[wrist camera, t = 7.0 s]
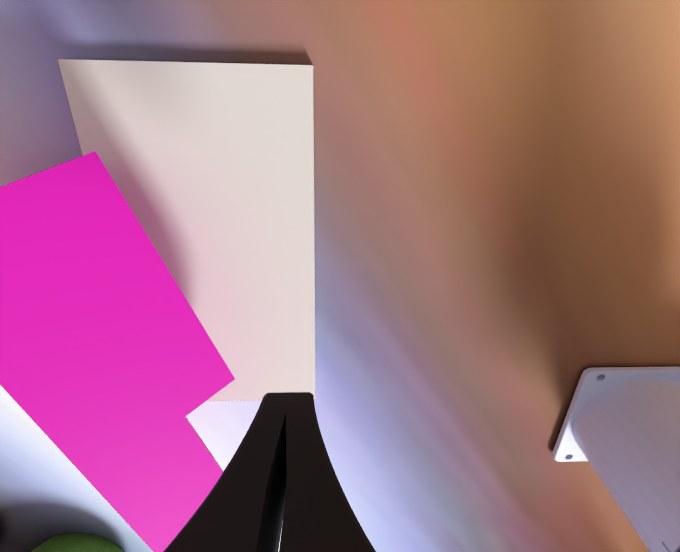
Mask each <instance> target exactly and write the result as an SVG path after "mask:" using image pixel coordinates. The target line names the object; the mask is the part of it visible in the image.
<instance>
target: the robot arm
mask: <svg viewBox="0 0 680 552" xmlns="http://www.w3.org/2000/svg"><path fill="white" fill-rule="evenodd" d="M552 456H553V457H554V459H555V460H556V461H559V462H567V461H589V463H590V464H591V465H592V467H593V468H594V470H595V471H596V473H597V474H598V476H599V477H600V479H601V480H602V482H603V483H604V485H605V486H606V488H607V489H608V491H609V492H610V494H611V495H612V497H613V498H614V499H615V501H616V502H617V504H618V505H619V507H620V508H621V510H622V511H623V513H624V514H625V516H626V517H627V519H628V520H629V522H630V523H631V525H632V526H633V528H634V529H635V531H636V532H637V533H638V535H639V536H640V538H641V539H642V541H643V542H644V544H645V545H646V547H647V548H648V550H649V551H650V552H680V367H600V368H588V369H586V370H584V371H583V373H582V375H581V377H580V380H579V383H578V385H577V388H576V391H575V393H574V396H573V399H572V401H571V404H570V407H569V409H568V412H567V415H566V417H565V420H564V423H563V425H562V428H561V431H560V434H559V436H558V439H557V442H556V444H555V447H554V450H553V452H552ZM282 521H283V524H282ZM281 528H282V533H281ZM280 535H281V542H280V550H279V552H376V551H375V550H374V548H373V546H372V545H371V543H370V541H369V540H368V538H367V536H366V535H365V533H364V531H363V529H362V527H361V526H360V524H359V522H358V520H357V518H356V516H355V514H354V512H353V511H352V509H351V507H350V505H349V503H348V501H347V499H346V496H345V494H344V492H343V490H342V488H341V486H340V483H339V481H338V479H337V476H336V474H335V472H334V469H333V467H332V464H331V462H330V459H329V456H328V453H327V451H326V448H325V445H324V442H323V439H322V436H321V433H320V429H319V425H318V421H317V417H316V413H315V407H314V395H313V394H312V393H310V392H281V393H267V394H265V395H264V397H263V399H262V402H261V404H260V407H259V409H258V411H257V413H256V416H255V418H254V420H253V422H252V424H251V426H250V428H249V430H248V431H247V433H246V435H245V437H244V439H243V440H242V442H241V444H240V446H239V447H238V449H237V451H236V453H235V454H234V456H233V458H232V459H231V461H230V463H229V464H228V466H227V467H226V469H225V470H224V472H223V473H222V475H221V477H220V478H219V480H218V481H217V483H216V484H215V486H214V487H213V489H212V490H211V491H210V493H209V494H208V496H207V497H206V498H205V500H204V501H203V503H202V504H201V505H200V507H199V508H198V509H197V511H196V512H195V513H194V515H193V516H192V517H191V518H190V520H189V521H188V522H187V523H186V525H185V526H184V527H183V528H182V530H181V531H180V532H179V533H178V535H177V536H176V537H175V538H174V539H173V541H172V542H171V543H170V544H169V545H168V547H167V548H166V549H165V550H164V551H163V552H278V548H279V541H280Z"/></svg>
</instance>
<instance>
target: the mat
mask: <svg viewBox="0 0 680 552" xmlns="http://www.w3.org/2000/svg"><path fill="white" fill-rule="evenodd" d="M58 63H59V67H60V71H61V75H62V79H63V83H64V86H65V90H66V94H67V98H68V102H69V106H70V110H71V113H72V117H73V121H74V125H75V129H76V133H77V137H78V140H79V144H80V148H81V152H82V156H83V155H86V154H89V153H91V152H94V151H96V153H97V154H98V156H99V158H100V159H101V161H102V163H103V164H104V166H105V167H106V169H107V171H108V172H109V174H110V176H111V177H112V179H113V181H114V182H115V184H116V185H117V187H118V189H119V190H120V192H121V194H122V195H123V197H124V198H125V200H126V202H127V203H128V205H129V207H130V208H131V210H132V211H133V213H134V215H135V216H136V218H137V220H138V221H139V223H140V225H141V226H142V228H143V229H144V231H145V233H146V234H147V236H148V238H149V239H150V241H151V242H152V244H153V246H154V247H155V249H156V251H157V252H158V254H159V255H160V257H161V259H162V260H163V262H164V264H165V265H166V267H167V269H168V270H169V272H170V273H171V275H172V277H173V278H174V280H175V282H176V283H177V285H178V286H179V288H180V290H181V291H182V293H183V295H184V296H185V298H186V300H187V301H188V303H189V304H190V306H191V308H192V309H193V311H194V313H195V314H196V316H197V317H198V319H199V321H200V322H201V324H202V326H203V327H204V329H205V330H206V332H207V334H208V335H209V337H210V339H211V340H212V342H213V344H214V345H215V347H216V348H217V350H218V352H219V353H220V355H221V357H222V358H223V360H224V361H225V363H226V365H227V366H228V368H229V370H230V371H231V373H232V374H233V376H234V378H235V380H234V381H232V382H231V383H229V384H228V385H227V386H225V387H224V388H223V389H221V390H220V391H219V392H217V393H216V394H215V395H213V396H212V397H211V398H209V399H208V400H207V401H260V400H262V399H263V397H264V395H265V394H267V393H281V392H310V393H312V394H313V395H314V400H315V257H314V119H313V65H283V64H242V63H201V62H160V61H118V60H77V59H58Z"/></svg>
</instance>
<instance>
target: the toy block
mask: <svg viewBox="0 0 680 552" xmlns="http://www.w3.org/2000/svg"><path fill="white" fill-rule="evenodd" d="M234 380H235V378H234V376H233V374H232V373H231V371H230V370H229V368H228V366H227V365H226V363H225V361H224V360H223V358H222V357H221V355H220V353H219V352H218V350H217V348H216V347H215V345H214V344H213V342H212V340H211V339H210V337H209V335H208V334H207V332H206V330H205V329H204V327H203V326H202V324H201V322H200V321H199V319H198V317H197V316H196V314H195V313H194V311H193V309H192V308H191V306H190V304H189V303H188V301H187V300H186V298H185V296H184V295H183V293H182V291H181V290H180V288H179V286H178V285H177V283H176V282H175V280H174V278H173V277H172V275H171V273H170V272H169V270H168V269H167V267H166V265H165V264H164V262H163V260H162V259H161V257H160V255H159V254H158V252H157V251H156V249H155V247H154V246H153V244H152V242H151V241H150V239H149V238H148V236H147V234H146V233H145V231H144V229H143V228H142V226H141V225H140V223H139V221H138V220H137V218H136V216H135V215H134V213H133V211H132V210H131V208H130V207H129V205H128V203H127V202H126V200H125V198H124V197H123V195H122V194H121V192H120V190H119V189H118V187H117V185H116V184H115V182H114V181H113V179H112V177H111V176H110V174H109V172H108V171H107V169H106V167H105V166H104V164H103V163H102V161H101V159H100V158H99V156H98V154H97V153H96V151H94V152H91V153H89V154H86V155H83V156H81V157H78V158H76V159H73V160H70V161H68V162H65V163H63V164H60V165H57V166H55V167H52V168H50V169H47V170H44V171H42V172H39V173H36V174H34V175H31V176H29V177H26V178H23V179H21V180H18V181H16V182H13V183H10V184H8V185H5V186H2V187H0V385H1V386H2V387H3V388H4V389H5V390H6V391H7V392H8V393H9V394H10V396H11V397H12V398H13V399H14V400H15V401H16V402H17V403H18V404H19V405H20V406H21V408H22V409H23V410H24V411H25V412H26V413H27V414H28V415H29V416H30V417H31V418H32V420H33V421H34V422H35V423H36V424H37V425H38V426H39V427H40V428H41V429H42V430H43V432H44V433H45V434H46V435H47V436H48V437H49V438H50V439H51V440H52V441H53V442H54V444H55V445H56V446H57V447H58V448H59V449H60V450H61V451H62V452H63V453H64V454H65V456H66V457H67V458H68V459H69V460H70V461H71V462H72V463H73V464H74V465H75V466H76V468H77V469H78V470H79V471H80V472H81V473H82V474H83V475H84V476H85V477H86V478H87V480H88V481H89V482H90V483H91V484H92V485H93V486H94V487H95V488H96V489H97V490H98V492H99V493H100V494H101V495H102V496H103V497H104V498H105V499H106V500H107V501H108V502H109V504H110V505H111V506H112V507H113V508H114V509H115V510H116V511H117V512H118V513H119V514H120V516H121V517H122V518H123V519H124V520H125V521H126V522H127V523H128V524H129V525H130V526H131V528H132V529H133V530H134V531H135V532H136V533H137V534H138V535H139V536H140V537H141V538H142V540H143V541H144V542H145V543H146V544H147V545H148V546H149V547H150V548H151V549H152V550H153V552H163V551H164V550H165V549H166V548H167V547H168V545H169V544H170V543H171V542H172V541H173V539H174V538H175V537H176V536H177V535H178V533H179V532H180V531H181V530H182V528H183V527H184V526H185V525H186V523H187V522H188V521H189V520H190V518H191V517H192V516H193V515H194V513H195V512H196V511H197V509H198V508H199V507H200V505H201V504H202V503H203V501H204V500H205V498H206V497H207V496H208V494H209V493H210V491H211V490H212V489H213V487H214V486H215V484H216V483H217V481H218V480H219V478H220V477H221V475H222V473H223V471H222V469H221V468H220V466H219V465H218V463H217V462H216V460H215V459H214V457H213V456H212V454H211V453H210V451H209V450H208V449H207V447H206V446H205V444H204V443H203V441H202V440H201V438H200V437H199V435H198V434H197V432H196V431H195V429H194V428H193V426H192V425H191V424H190V422H189V421H188V419H187V418H186V415H188V414H189V413H190V412H192V411H193V410H194V409H196V408H197V407H198V406H200V405H201V404H203V403H204V402H205V401H207V400H208V399H209V398H211V397H212V396H213V395H215V394H216V393H217V392H219V391H220V390H221V389H223V388H224V387H225V386H227V385H228V384H229V383H231V382H232V381H234Z"/></svg>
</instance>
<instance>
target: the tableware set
mask: <svg viewBox="0 0 680 552" xmlns="http://www.w3.org/2000/svg"><path fill="white" fill-rule="evenodd" d="M31 552H124V551H123V549H122V548H120V547H119V546H118V545H117V544H115V543H113V542H111V541H109V540H107V539H105V538H102V537H99V536H95V535H91V534H83V533H69V534H61V535H56V536H54V537H52V538H50V539H48V540H46V541H45V542H43V543H42V544H41V545H39V546H38V547H36V548H35V549H34V550H32V551H31Z"/></svg>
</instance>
